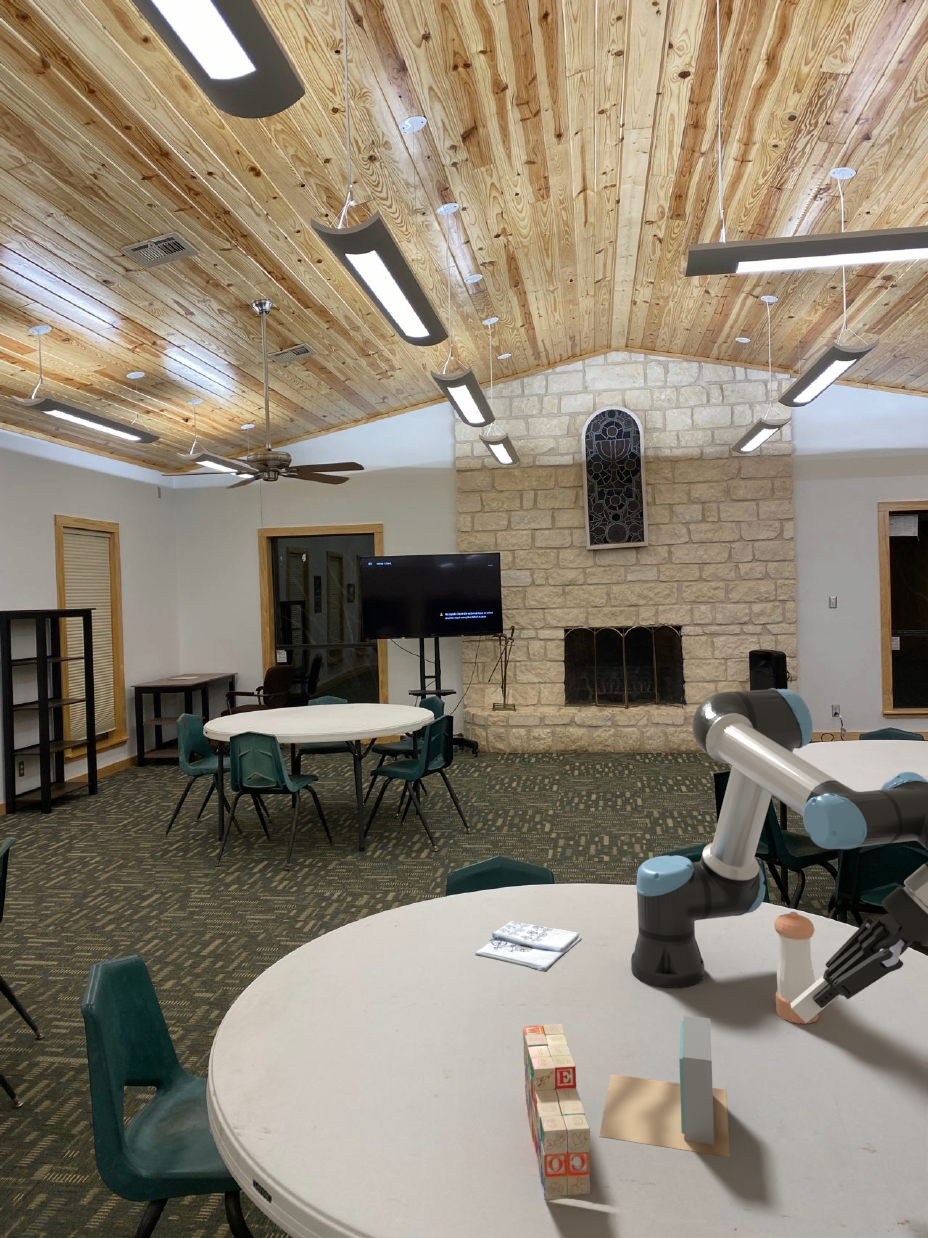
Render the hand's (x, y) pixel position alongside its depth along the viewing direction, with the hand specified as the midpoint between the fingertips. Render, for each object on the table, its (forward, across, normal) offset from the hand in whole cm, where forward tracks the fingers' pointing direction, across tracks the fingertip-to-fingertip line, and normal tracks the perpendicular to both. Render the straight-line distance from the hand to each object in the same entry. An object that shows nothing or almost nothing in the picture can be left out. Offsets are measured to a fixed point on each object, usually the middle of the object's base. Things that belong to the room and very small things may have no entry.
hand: (798, 1013), depth 114 cm
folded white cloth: (+50, +56, +24) cm, 79 cm away
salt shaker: (+10, +37, -15) cm, 41 cm away
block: (+22, 0, -2) cm, 22 cm away
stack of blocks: (+37, -10, +11) cm, 40 cm away
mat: (+26, 0, +1) cm, 26 cm away
